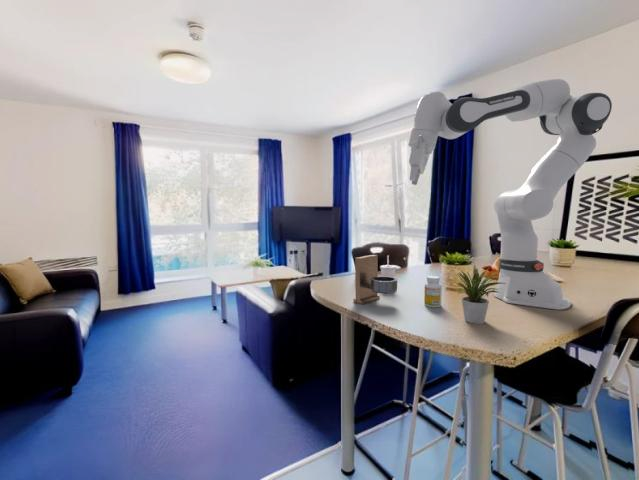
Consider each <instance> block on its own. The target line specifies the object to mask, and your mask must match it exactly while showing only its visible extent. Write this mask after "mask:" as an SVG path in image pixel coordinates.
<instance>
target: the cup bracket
mask: <svg viewBox="0 0 639 480" xmlns="http://www.w3.org/2000/svg"><path fill="white" fill-rule="evenodd" d="M378 256H379V255H378V254H370V255H363V256H359V257H355V258H354V260H355V262H354V263H355V266H354V267H355V270H354V272H355V273H354V274H355V281H354V282H355V284H354V285H355V298H353V299H352V300H353V303H355V304H359V305H365V304H368V303H370V302H371V303H372V302H374V301H378V300H380V299H381V297H380V296H381V295H379V294H383V295H384V294H385V295H386V294H387V295H389V294H395V293H397V292H398V278H396V277H395V276H394V277H388V276H382V275H381V276H380V275H379V273H378V267H379V265H378V263H379V262H378V261H379V259H378Z"/></svg>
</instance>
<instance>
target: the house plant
mask: <svg viewBox="0 0 639 480" xmlns="http://www.w3.org/2000/svg"><path fill="white" fill-rule="evenodd" d="M489 268H490V267H487V268H486V269H485V270H484V271H483V272H482V273H481V274H479V269H478V268H477V267H476V265H475V264H474V265H473V271H472V272H473V273H472V274H473V275H472V278H471V275H470V273H469V272H468V271H466V272H465V270H464V269H462V270H460V272H459V271H458V273H457V272H456V275H457V276H458V277H459V278H460V280H461V281H462V282H463V283H461V282H457V283H455V285H458V286H460V287H461V288H458V290H457V292H458V294H462V293H465V294H466V295H467V296H464V297H461V303H462V310H463V311H462V312H463V318H464V320H465V322H468V323H470V324H475V325H476V324H477V325H480V324H482V325H483V324H484V323H485V321H486V317H487V312H488V308H489V302H490V300H489V299H487V298H489V294H490V293H495V292H498V291H499V290H498V291H496V290H497V289H496V288H493V287H491V286H495V285H496V286H497V284H505V283H501V282H498V281H496V282H494V281H493V280H495V276H494V275H496V274H497V273H498V271H496V272H492V273H491V274H489V275H488V276H487V277H486V278H484V277H485V274H486V273H487V272H488V271H489ZM499 277H502V276H499V275H497V276H496V278H499ZM483 278H484V279H483ZM482 279H483V280H482ZM491 281H493V282H491ZM498 289H499V288H498ZM498 293H499V292H498ZM485 296H486V297H487V298H484V297H485Z"/></svg>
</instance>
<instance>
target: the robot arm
mask: <svg viewBox="0 0 639 480" xmlns="http://www.w3.org/2000/svg"><path fill="white" fill-rule="evenodd" d="M612 105H613V103H612V100H611V98H610V97H609V96H608V95H607V94H605V93H603V92H588V93H585V94H583V95H579V96H575V97H574V96H572V95H571V88H570V85H569V83H568V82H567V81H566V80H565V79H560V78H554V79H553V78H552V79H544V80H539V81H536V82H531V83H528V84H525V85H522V86H518V87H517V88H515V89H512V90H510V91H509V92H505V93H502V94H498V95H492V96H489V97H482V98H480V97H471V96H464V97H460V98H458V99H456V100H455V101H454V102H453V103H451V101H449V100H448V98H447V97H446V95H445V94H444V93H443V92H439V91H434V92H433V91H432V92H429V93H426V94H424V95H423V96H422V97H421V98H420V100H419V101H418V105H417V108H416V111H415V114H414V118H413V119H414V120H413V121H414V122H413V123H414V124H413V127H412V129H411V132H410V136H409V139H408V147H409V148H410V155H409V159H408V164H409V165H410V175H409V178H408V179H409V181H411V185H413V186H414V185H415V186H416V185H417V184H418V181H419V178H420V176H421V175H423V174H424V171H425V170H426V166H427V163H428V160H429V157H430V155H431V154H432V153H433V151H434V150H435V149H436V147H437V146H436V144H437V141H438V138H439V137H440V138H443V139H447V140H454V139H458V138H459V137H461V136H463V135H464V134H466V133H468V132H470V131H473V130H474V129H475V128H477V127H478V126H479V125H481V123H483V122H484V121H485V122H486V121H488V120H490V119H491V120H492V119H495V118H499V117H503V116H505V117H506V119H508V120H509V121H510V122H523V121H528V120H532V119H536V118H539V125H540V127H541V129H542V131H543V132H544V133H545V134H547V135H551V136H558V138H557V141H556V142H555V144H554V145H553V146H552V147H551V148H550V149H549V150H548V151H547V152H546V153H545V154H544V155H543V156H542V157H541V158H540V159H539V160H538V161H537V163H535V165H533V166H532V168H531V169H530V171H529V175H528V177H527V178H526V180H525V181H524V183H523V184H522V185H521V186H520V187H519V188H516V189H510V190H509V189H508V190H506V191H504V192H503V193H500V194H499V195H498V196H497V197H496V198H495V199H494V203H493V209H494V211H495V213H496V215H497V220H498V225H499V227H498V228H499V231H500V257H499V258H498V264H497V265H498V267H497V270H498V273H499V274H498V276H502V277H498V278H497V282H501V283H505V284H496V288H495V289H497V290H495V291H498V290H499V291H498V292H499V293H498V292H493V293H494V294H493V296H494V297H496V298H497V299H500V300H502V301H503V302H504V303H507V304H513V305H514V304H515V305H519V306H520V305H522V306H528V307H536V308H542V309H550V310H551V309H552V310H557V311H558V310H560V311H561V310H566V309H568V308H570V307H571V306H572V301H571V300H570V299H568V298H566V297H564V293H563V289H562V286H561V284H560V283H559V282H558V281H556V280H555V279H553V277H551V276H550V275H548V274H547V273H546V272H545V271H544V266H545V265H544V264H545V262H542V261H540V260H539V259H537V258H538V246H539V245H538V243H539V242H538V241H539V238H538V235H537V234H536V232H535V230H534V227H533V223H532V222H533V221H535V220H539V219H542V218H544V217H545V218H546V216H548V215H549V214H550V213H551V212H552V210H553V208H554V199H555V198H556V196H557V195H558V193H559V191H560V190H561V188H563V186H565V184H566V183H567V182H569V180H570V179H571V178H572V177H573V176H574V174H576V173H577V172H578V171H579V170H580V168H582V167H583V165H584V164H585V163H586V161H587V160H588V159H589V157H590V156H591V154H592V153H593V152H594V150H595V148H596V146H597V140H596V137H595V136H594V135H595V134H596V133H598V132H599V131H601V130H602V128H603V126H604V124H605V123H606V121H607V120H608V118H609V117H610V115H611V112H612V109H613V107H612ZM498 288H499V289H498Z"/></svg>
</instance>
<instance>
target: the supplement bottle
mask: <svg viewBox="0 0 639 480" xmlns="http://www.w3.org/2000/svg"><path fill="white" fill-rule="evenodd" d="M440 280H441V279H440V276H437V275H428V276H426V282H425V283H424V305H425V306H426V307H429V308H439V307H441V306H442V290H443V289H442V284H441V283H440Z"/></svg>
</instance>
